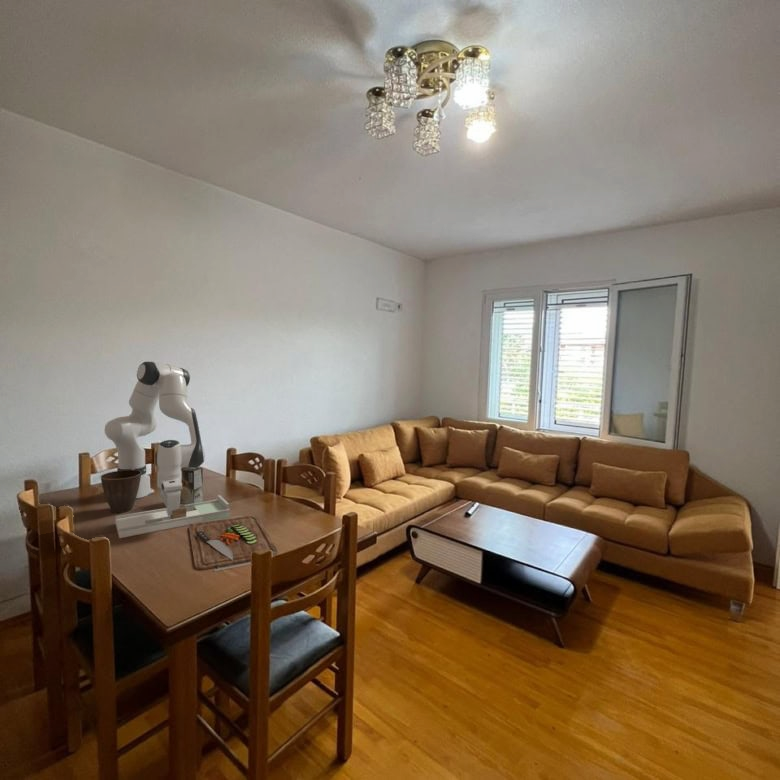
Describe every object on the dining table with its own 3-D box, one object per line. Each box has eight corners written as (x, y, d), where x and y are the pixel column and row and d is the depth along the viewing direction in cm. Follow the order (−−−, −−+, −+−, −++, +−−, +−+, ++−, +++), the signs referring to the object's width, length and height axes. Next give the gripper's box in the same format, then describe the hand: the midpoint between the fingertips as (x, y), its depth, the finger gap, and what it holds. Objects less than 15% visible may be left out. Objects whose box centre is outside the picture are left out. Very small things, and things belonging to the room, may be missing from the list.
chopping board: (281, 560, 144) (281, 551, 144) (196, 576, 131) (196, 567, 131) (255, 515, 183) (255, 509, 183) (188, 525, 170) (188, 518, 170)
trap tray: (115, 524, 168) (115, 510, 167) (219, 506, 192) (219, 494, 192) (119, 538, 155) (119, 523, 155) (229, 516, 180) (229, 504, 179)
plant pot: (102, 519, 172) (102, 480, 171) (99, 508, 184) (98, 472, 183) (144, 511, 182) (144, 475, 181) (138, 502, 193) (138, 468, 192)
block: (170, 515, 172) (170, 506, 172) (183, 513, 175) (183, 504, 175) (172, 519, 168) (172, 509, 168) (186, 517, 171) (186, 507, 171)
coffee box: (203, 500, 198) (203, 467, 197) (194, 505, 192) (194, 470, 191) (186, 498, 200) (187, 465, 199) (177, 503, 194) (177, 469, 193)
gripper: (156, 476, 175) (156, 508, 176) (164, 488, 159) (164, 524, 160) (173, 474, 179) (173, 505, 180) (183, 486, 162) (183, 520, 163)
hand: (169, 514), depth 169 cm, fingers closed
